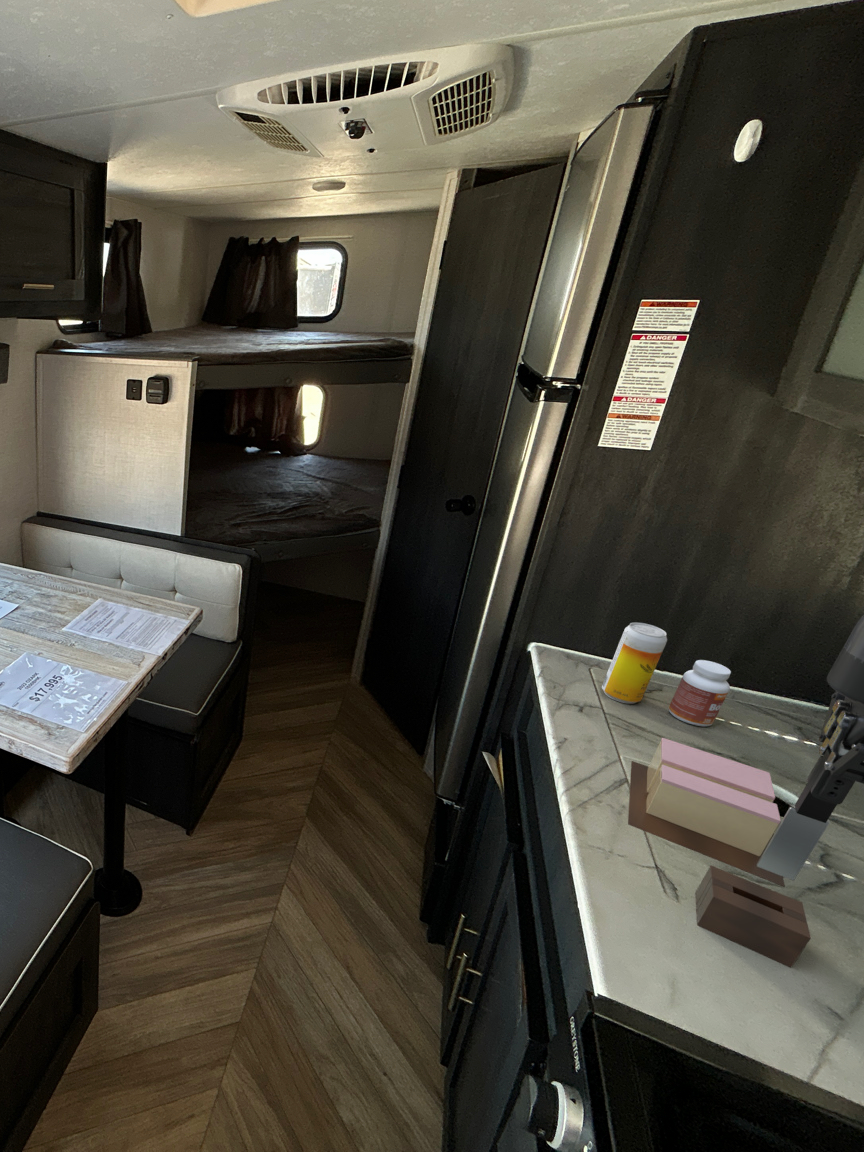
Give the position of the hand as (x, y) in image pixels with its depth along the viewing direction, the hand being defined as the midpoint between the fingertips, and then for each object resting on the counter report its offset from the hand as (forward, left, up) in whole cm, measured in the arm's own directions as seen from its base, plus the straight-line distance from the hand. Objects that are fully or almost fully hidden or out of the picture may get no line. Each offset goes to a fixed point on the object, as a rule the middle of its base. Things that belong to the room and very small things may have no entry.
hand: (822, 792), depth 69 cm
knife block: (0, 0, -23) cm, 23 cm away
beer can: (+13, -54, -23) cm, 60 cm away
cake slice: (+3, -19, -22) cm, 29 cm away
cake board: (+3, -21, -23) cm, 31 cm away
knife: (0, 0, -12) cm, 12 cm away
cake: (+3, -25, -22) cm, 34 cm away
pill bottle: (+3, -54, -23) cm, 59 cm away
